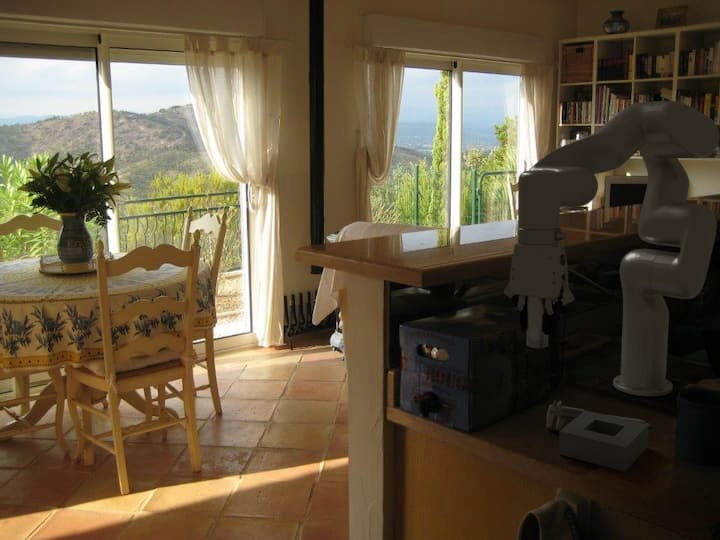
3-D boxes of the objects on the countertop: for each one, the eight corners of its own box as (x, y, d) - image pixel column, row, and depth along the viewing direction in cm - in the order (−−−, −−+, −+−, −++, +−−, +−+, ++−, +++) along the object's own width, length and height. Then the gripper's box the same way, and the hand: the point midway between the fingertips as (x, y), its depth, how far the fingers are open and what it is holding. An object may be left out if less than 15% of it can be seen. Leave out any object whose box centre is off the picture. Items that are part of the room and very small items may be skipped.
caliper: (547, 432, 142) (548, 401, 141) (546, 429, 143) (546, 399, 142) (651, 428, 142) (652, 398, 141) (649, 426, 143) (650, 396, 142)
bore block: (584, 432, 141) (585, 410, 140) (647, 447, 133) (648, 424, 133) (558, 454, 132) (559, 431, 131) (625, 471, 124) (626, 447, 123)
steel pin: (532, 340, 142) (532, 291, 140) (551, 343, 139) (552, 293, 137) (523, 346, 139) (523, 295, 137) (542, 349, 136) (543, 297, 134)
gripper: (589, 237, 133) (587, 333, 136) (507, 231, 143) (507, 321, 146) (573, 243, 127) (571, 343, 130) (488, 237, 137) (489, 329, 141)
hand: (537, 330), depth 138 cm, fingers closed on steel pin, 4 cm apart
